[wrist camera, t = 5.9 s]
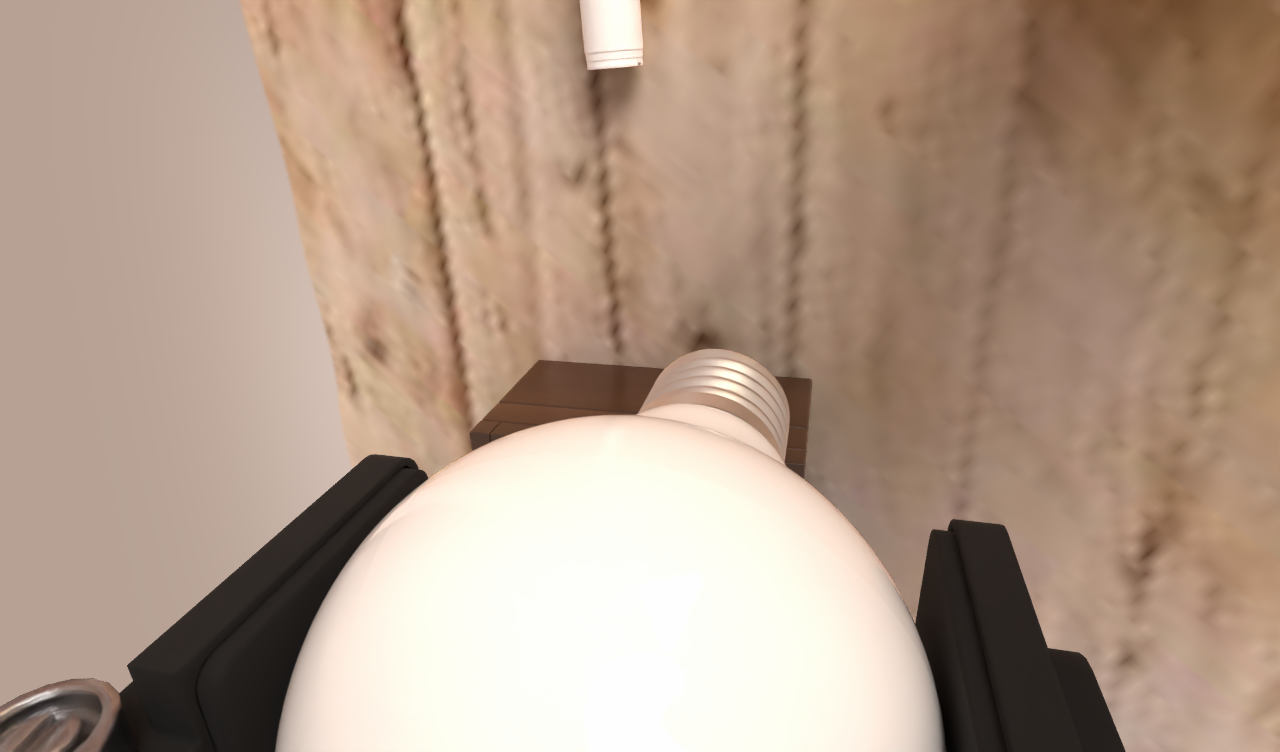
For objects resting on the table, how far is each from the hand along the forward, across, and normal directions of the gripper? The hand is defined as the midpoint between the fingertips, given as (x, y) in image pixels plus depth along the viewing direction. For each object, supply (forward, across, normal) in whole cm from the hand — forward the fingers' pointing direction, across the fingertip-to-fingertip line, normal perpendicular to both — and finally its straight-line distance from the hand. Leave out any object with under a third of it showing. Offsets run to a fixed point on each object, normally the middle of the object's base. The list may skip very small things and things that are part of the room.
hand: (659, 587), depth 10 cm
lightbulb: (+6, 0, 0) cm, 6 cm away
